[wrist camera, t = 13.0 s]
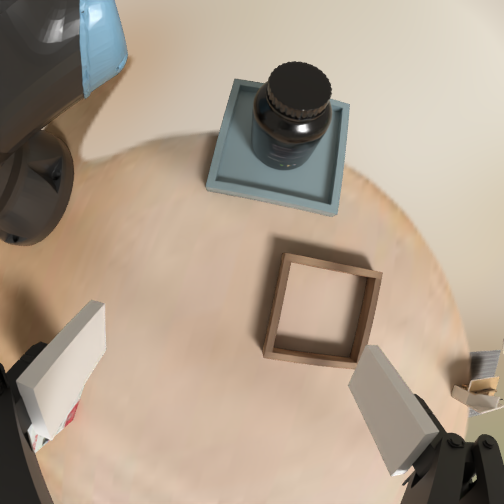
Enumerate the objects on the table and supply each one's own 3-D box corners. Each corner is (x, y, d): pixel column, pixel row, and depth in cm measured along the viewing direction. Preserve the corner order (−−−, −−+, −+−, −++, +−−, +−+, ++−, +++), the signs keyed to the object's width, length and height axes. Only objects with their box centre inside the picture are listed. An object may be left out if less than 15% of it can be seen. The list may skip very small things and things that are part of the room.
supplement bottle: (247, 118, 31) (250, 50, 19) (307, 116, 31) (335, 52, 19) (253, 175, 31) (260, 123, 19) (316, 171, 31) (354, 122, 19)
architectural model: (455, 373, 32) (488, 389, 24) (484, 370, 32) (515, 383, 24) (449, 396, 31) (479, 414, 24) (478, 391, 32) (508, 405, 24)
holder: (262, 351, 30) (263, 357, 28) (282, 253, 31) (285, 252, 29) (353, 363, 31) (360, 369, 28) (374, 272, 31) (382, 272, 29)
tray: (207, 191, 31) (205, 186, 29) (235, 86, 32) (234, 78, 30) (332, 217, 31) (337, 214, 30) (345, 111, 32) (349, 104, 30)
